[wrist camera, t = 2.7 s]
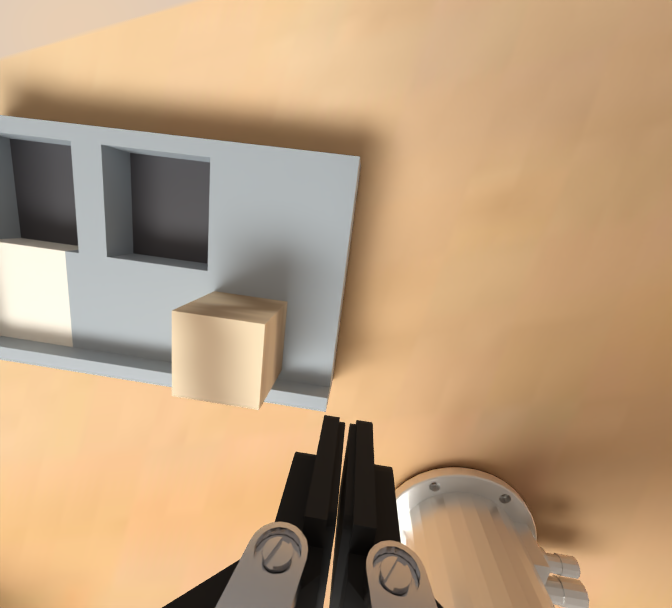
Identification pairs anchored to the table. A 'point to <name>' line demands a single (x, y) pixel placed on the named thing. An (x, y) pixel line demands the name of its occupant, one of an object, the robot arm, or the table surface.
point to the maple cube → (227, 348)
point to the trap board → (166, 247)
